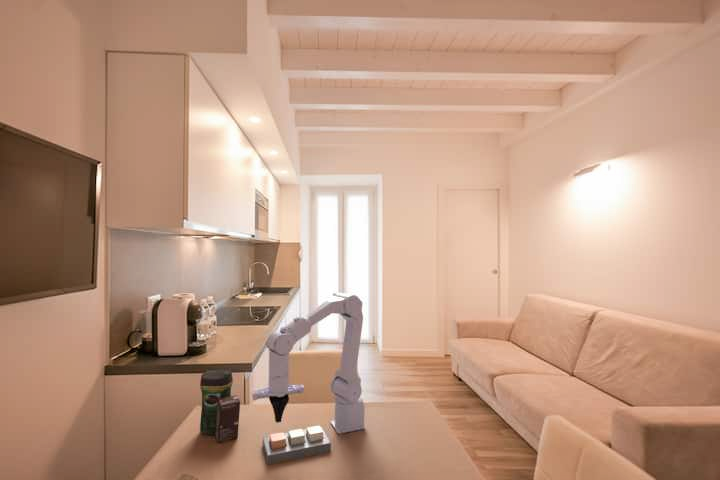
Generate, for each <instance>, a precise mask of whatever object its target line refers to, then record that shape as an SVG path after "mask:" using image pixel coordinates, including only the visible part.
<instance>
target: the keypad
mask: <svg viewBox="0 0 720 480" xmlns="http://www.w3.org/2000/svg"><path fill="white" fill-rule="evenodd" d="M320 428H321V429H322V431H323V439H321V440H316V441H311V442H309V441H308V439H307V437H306V435H307V428H306V429H302V430H303V432H304V434H305V443H301V444H296V445H291V446H290V443H289V441H288V434H289V432H285V433H284V435H285V437H286V446H285V447H280V448H275V449H271V448H270V435H267V436H263V437H262V447H263V451H264V456H265V458H266V459H265V460H266V463H267V465H273V464H277V463H282V462H286V461H292V460H296V459H301V458H306V457H309V456H310V457H311V456H315V455H316V456H317V455H320V454H325V453H329V452H332V451H331V449H332V447H331V446H332V442H331V440H330V439H329V437H328V436H327V434H326V433H325V430H324V429H323V427H322V426H320Z"/></svg>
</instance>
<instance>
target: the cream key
mask: <svg viewBox="0 0 720 480" xmlns="http://www.w3.org/2000/svg"><path fill="white" fill-rule="evenodd" d="M320 427H321V426H320V425H316V426H315V425H314V426H309V427H306V429H307V435H306V437H307V439H308V441H309V442H311V441H316V440H321V439H323V431H322V429H323V428H322V429H321V428H320Z"/></svg>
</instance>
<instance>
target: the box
mask: <svg viewBox="0 0 720 480" xmlns="http://www.w3.org/2000/svg"><path fill="white" fill-rule="evenodd" d="M240 409H241V401H240V399H239V396H238V395H233V396H232V395H231V397H225V398H222V399H218V403H217V421H216V434H215V438H216V440H217V442H218V443H221V442H222V443H223V442H226V441H229V440H233V439H237V438H238V437H239V425H240V413H241V412H240V411H241V410H240Z"/></svg>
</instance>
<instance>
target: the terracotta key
mask: <svg viewBox="0 0 720 480" xmlns="http://www.w3.org/2000/svg"><path fill="white" fill-rule="evenodd" d="M269 436H270V448H271V449H275V448H280V447H285V446H286V437H285V435H284V431H282V432H276V433H271V434H269Z"/></svg>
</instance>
